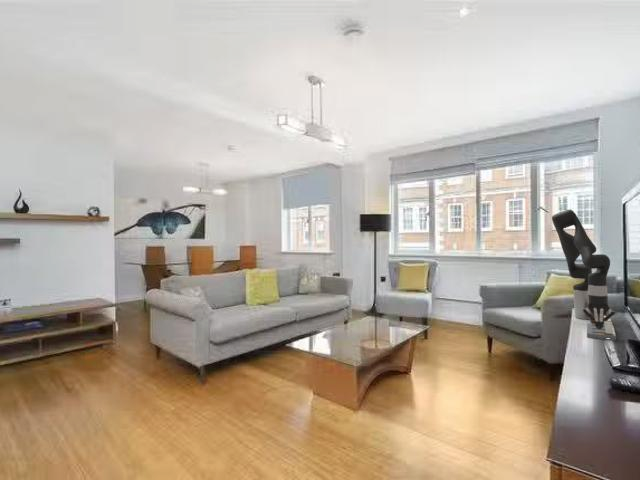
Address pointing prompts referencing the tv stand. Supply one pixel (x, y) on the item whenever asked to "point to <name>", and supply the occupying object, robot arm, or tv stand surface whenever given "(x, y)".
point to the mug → (598, 317)
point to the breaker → (608, 327)
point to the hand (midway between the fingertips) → (599, 328)
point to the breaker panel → (599, 332)
